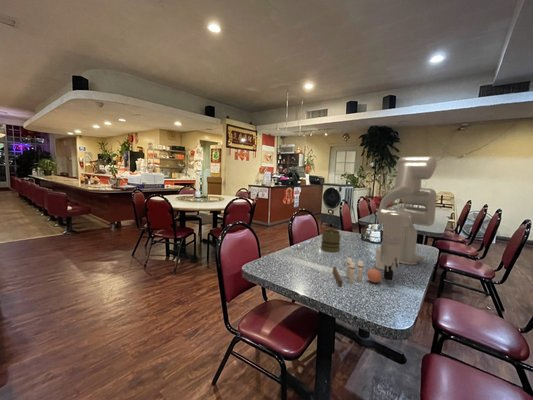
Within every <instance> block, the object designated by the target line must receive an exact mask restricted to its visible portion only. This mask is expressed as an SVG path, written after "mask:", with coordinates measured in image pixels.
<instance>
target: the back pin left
mask: <svg viewBox="0 0 533 400" xmlns="http://www.w3.org/2000/svg"><path fill="white" fill-rule="evenodd" d="M355 270H356V262H353V261H352V262H350V266H349V278H348V283H350V284H354V282H355Z"/></svg>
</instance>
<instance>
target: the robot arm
mask: <svg viewBox="0 0 533 400" xmlns="http://www.w3.org/2000/svg"><path fill="white" fill-rule="evenodd" d="M436 169H437V159H436V157H434V156H432V155H431V156H429V155H428V156H427V155H424V156H422V155H421V156H417V155H414V156H410V155H409V156H402V157H399V158H398V160H397V172H396V176H395V180H394V185H393V189H391V190H390V191H389V192H387V194H385V195H384V197H383V198H382V199H381V201H380V203H379V206H378V209H377V217H376V218H377V221H378V223H379V224H381V225H383V229H382V236H381V237H382V240H381V246H380V247H381V252H380V260H381V261H382V262H383V263H384V269H385V270H383V279H384V280H386V281H392V280H393V278H394V272H395V271H396V270H397V268H398V267H399V266H400V264H401V265H402V264H403V265H409V266H414V265H417V264H418V260H419V261H421V260H422V261H424V260H425V257H424V256H423V255H422V256H421V255H418V254H416V250H417V248H416V247H417V241H418V240H417V238H418V230H417V228H416V227H415V226H414V225H418V226H426V227H431V226H433V224H434V223H435V218H436V209H437V208H436V207H437V192H436V190H434V189H432V188H425V187H422V180H430V179H432V176H433V174H434V172H435V170H436ZM399 199H401V200H402V202H403V203H404V204H405V205H409V206H401V207H399V209H398V210H397V209H390V208H387V207H388V206H389V204H390V203H392V202H394V201H396V200H399ZM410 205H411V206H410ZM417 206H421V207H417ZM423 207H424V208H423Z"/></svg>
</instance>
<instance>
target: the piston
mask: <svg viewBox="0 0 533 400" xmlns="http://www.w3.org/2000/svg"><path fill="white" fill-rule="evenodd" d="M340 242H341V234H340V230H336V229H323V232H322V235H321V251H324V252H327V253H339V252H340V248H341V247H340V246H341V243H340Z"/></svg>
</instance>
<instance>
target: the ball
mask: <svg viewBox="0 0 533 400" xmlns="http://www.w3.org/2000/svg"><path fill="white" fill-rule="evenodd" d="M366 276H367V279H368V280H369V281H370V282H371V283H380V281H381V280H382V278H383V277H382V273H381V271H380V270H379V269H378V268H370V269H369V270H368V271H367V275H366Z"/></svg>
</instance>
